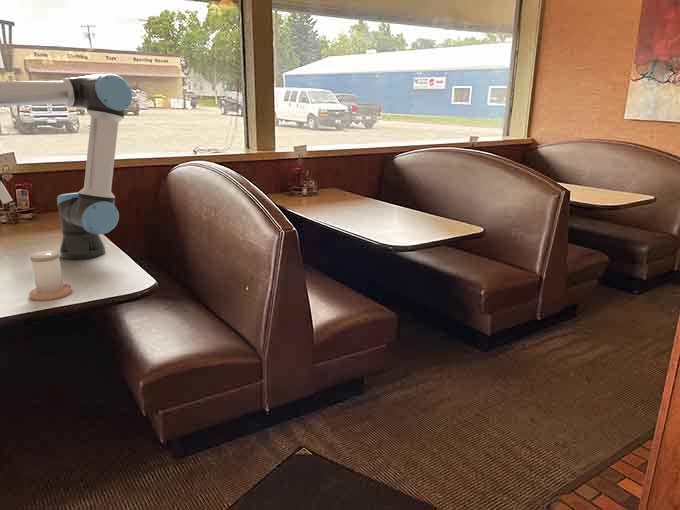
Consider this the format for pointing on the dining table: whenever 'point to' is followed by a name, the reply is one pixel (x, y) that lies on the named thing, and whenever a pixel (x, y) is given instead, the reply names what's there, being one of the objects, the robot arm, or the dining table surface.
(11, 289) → the dining table surface
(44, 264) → the cup
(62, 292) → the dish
